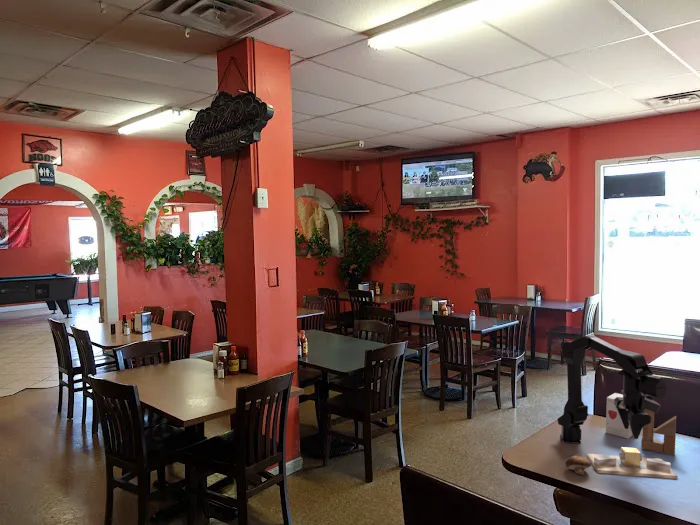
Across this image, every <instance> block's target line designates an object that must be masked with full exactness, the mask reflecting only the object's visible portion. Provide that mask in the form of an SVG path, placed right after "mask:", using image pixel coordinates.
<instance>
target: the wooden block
mask: <svg viewBox="0 0 700 525" xmlns="http://www.w3.org/2000/svg"><path fill="white" fill-rule="evenodd" d="M642 411H645V412H646V413H647V414H648V415H649V416H650V417H651V418H652V419H651V423H649V424H648V425H645V426H643V428H642V438H641V442H640V445H641V446H640V449H642V450H645V451H650V452H655V453H660V454H664V455H667V456H668V455H669V456H673V457H674V456H675V454H676V431H677V430H676V429H677V416H676V415H675V416H672V417H671V418H670V419H667V421H665V422H664V423H662V424H660V425H659V426H657V427H656V428H655V413H654V412H652V411H650V410H647V409H645V410H642ZM654 434H657V435H661V436H662V435H663V442H662V441H660V440H658V439H655V438H654Z"/></svg>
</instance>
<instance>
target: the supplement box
mask: <svg viewBox="0 0 700 525" xmlns="http://www.w3.org/2000/svg"><path fill="white" fill-rule="evenodd" d="M616 397H623V394H622V393H618V392H614V393H612V394H610V395H609V396H607V397H606V413H605V414H606V415H605V416H606V417H605V433H606V434H610V435H614V436H617V437H621V438H625V439H627V440H628V439H630V438H631V437H633V434H632V431H631V428H630V425H629V428H628V429H625V428H624V425H623V423H622V421H621V418H620V416H619V414H618V411H617V409H616V407H615V405H614V399H615V398H616Z"/></svg>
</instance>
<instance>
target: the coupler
mask: <svg viewBox="0 0 700 525" xmlns="http://www.w3.org/2000/svg"><path fill="white" fill-rule="evenodd" d="M618 456H619V458H620V460H621V462H622V463H623V465H624V466H634V467H640V461H642V453H641V451H639V450H638V448H637V447H626V446H624V447H623V446H621V447H620V452H619V455H618Z"/></svg>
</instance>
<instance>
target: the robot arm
mask: <svg viewBox="0 0 700 525" xmlns="http://www.w3.org/2000/svg"><path fill="white" fill-rule="evenodd" d="M589 349H592V350H593V351H596V352H598V353H599V354H601V355H603V356H606V357H607V358H609V359H611V360H613V361H614V362H615V363H616V365H617V366H618V367H620V369H621V370H620V371H618V372H617V374H618V375H619V376H623V382H622V383H623V389H622V390H620V394H622V395H623V397H616V398H615V399H614V405H615V407H616V409H617V411H618V414H619V416H620V418H621V421H622V423H623V425H624V428H625V429H628V428H629V425H630V428H631V431H632V434H633V435H632V437H633V438H634V440H638V439H639V437H640V435H641V432H642V431H643V426H645V425H648V424H649V423H651V419H652V418H651V417H650V416H649V415H648V414H647V413H646V412H645V411H643V410H645V409H647V410H650V411H652V412H654V414H658V412H659V410H660V408H661V406H662V405H661V404H660V403H659V402H657V401H655V400H654V399H653V398H657V399H660V400H661V399H662V398H664V397H665V396H666V393H667V390H668V389H667V388H668V387H667V384H666V383H665V381H664V378H663V377H661V376H655V375H654V373H653V372H652V369H651V368H650V366H649V365H648V363H647V361H646V358H645V356H644V355H643V354H641V353H638V352H635V351H630V350H624V349H622V348H619V347H618V346H615V345H614V344H611V343H609V342H607V341H605V340H603V339H601V338H599V337H597V336H596V335H594V334H590V335H589V334H588V335H584V336H582V337H580V338H577V339H575V340H571V341H565V342H564V343H562V345H561V352H562V357H563V359H564V360H565V362H566V367H567V368H566V369H567V372H566V373H567V401H566V403H565V404H564V407H563V414H562V415H561V416H560V417H558V418H557V420H556V421H557V424H558V425H559V426H561V433H560V435H559V436H560V438H561V440H562V442H563V443H570V444H572V443H573V444H581V443H582V429H581V426H583V425H584V424H585V421H586V420H587V419H588V417H589V411H588V410H589V406H588V405H585V403H584V401H583V396H582V363H583V361H584V359H585V356H586V351H587V350H589Z"/></svg>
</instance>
